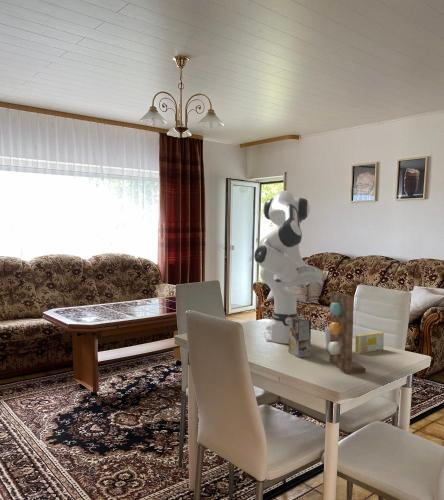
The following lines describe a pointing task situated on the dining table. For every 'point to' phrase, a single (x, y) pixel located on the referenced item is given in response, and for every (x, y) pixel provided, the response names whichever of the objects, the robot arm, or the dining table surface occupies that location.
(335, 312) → the teal button
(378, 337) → the candy box
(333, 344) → the cream button
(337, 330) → the orange button
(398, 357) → the dining table surface
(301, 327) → the coffee box
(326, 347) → the white cup
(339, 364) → the button panel
